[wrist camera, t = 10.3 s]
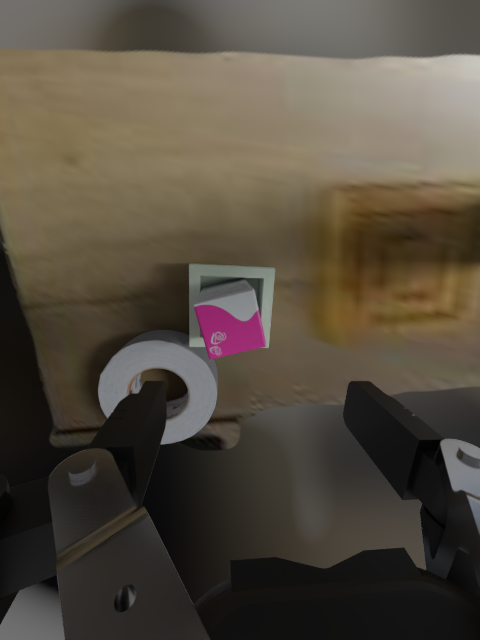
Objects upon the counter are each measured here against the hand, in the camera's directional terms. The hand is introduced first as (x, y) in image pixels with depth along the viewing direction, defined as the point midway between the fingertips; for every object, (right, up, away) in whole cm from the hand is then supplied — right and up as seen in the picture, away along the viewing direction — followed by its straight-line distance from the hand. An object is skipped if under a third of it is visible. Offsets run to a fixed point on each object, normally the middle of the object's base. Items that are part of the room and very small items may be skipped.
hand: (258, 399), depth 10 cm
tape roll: (-12, -5, +26) cm, 29 cm away
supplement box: (-3, +6, +22) cm, 23 cm away
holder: (-2, +6, +23) cm, 24 cm away
